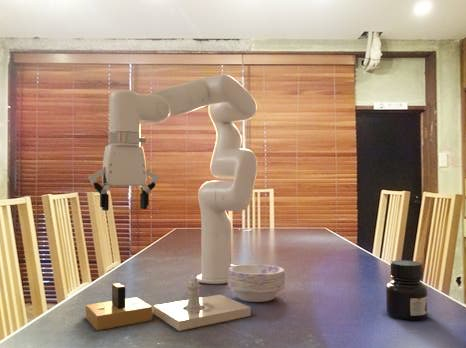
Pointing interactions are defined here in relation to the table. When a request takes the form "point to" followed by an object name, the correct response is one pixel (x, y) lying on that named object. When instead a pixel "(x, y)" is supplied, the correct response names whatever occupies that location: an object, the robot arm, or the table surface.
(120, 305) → the black battery pack
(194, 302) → the rook chess piece
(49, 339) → the table surface
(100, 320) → the orange dial base
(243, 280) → the paper bowls
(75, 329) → the table surface
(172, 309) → the white socket plate
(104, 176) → the robot arm
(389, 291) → the ink bottle
